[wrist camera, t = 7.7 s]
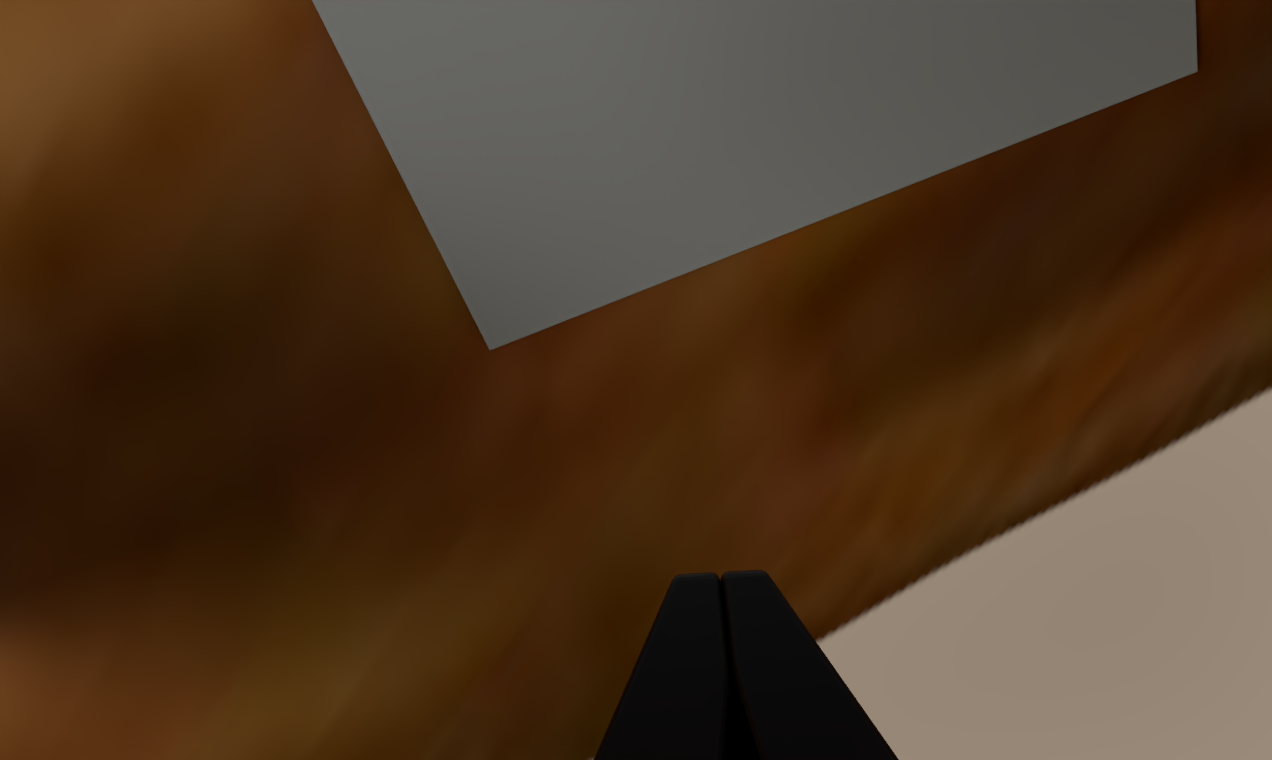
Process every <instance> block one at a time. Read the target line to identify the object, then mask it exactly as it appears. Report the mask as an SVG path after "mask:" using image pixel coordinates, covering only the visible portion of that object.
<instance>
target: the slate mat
mask: <svg viewBox="0 0 1272 760" xmlns="http://www.w3.org/2000/svg"><path fill="white" fill-rule="evenodd" d="M312 1H313V3H314V5H315V7H316V9H317V11H318V13H319V15H320V17H321V19H322V21H323V23H324V25H325V27H326V29H327V31H328V33H329V35H330V37H331V39H332V41H333V43H334V45H335V46H336V48H337V50H338V52H339V54H340V56H341V58H342V60H343V62H344V64H345V66H346V68H347V70H348V72H349V74H350V76H351V78H352V80H353V82H354V84H355V86H356V88H357V90H358V92H359V94H360V96H361V98H362V100H363V102H364V104H365V106H366V108H367V110H368V112H369V113H370V115H371V117H372V119H373V121H374V123H375V125H376V127H377V129H378V131H379V133H380V135H381V137H382V139H383V141H384V143H385V145H386V147H387V149H388V151H389V153H390V155H391V157H392V159H393V161H394V163H395V165H396V167H397V169H398V171H399V173H400V175H401V177H402V179H403V180H404V182H405V184H406V186H407V188H408V190H409V192H410V194H411V196H412V198H413V200H414V202H415V204H416V206H417V208H418V210H419V212H420V214H421V216H422V218H423V220H424V222H425V224H426V226H427V228H428V230H429V232H430V234H431V236H432V238H433V240H434V242H435V244H436V246H437V247H438V249H439V251H440V253H441V255H442V257H443V259H444V261H445V263H446V265H447V267H448V269H449V271H450V273H451V275H452V277H453V279H454V281H455V283H456V285H457V287H458V289H459V291H460V293H461V295H462V297H463V299H464V301H465V303H466V305H467V307H468V309H469V311H470V313H471V314H472V316H473V318H474V320H475V322H476V324H477V326H478V328H479V330H480V332H481V334H482V336H483V338H484V340H485V342H486V344H487V346H488V348H489V350H492V349H495V348H497V347H500V346H502V345H505V344H507V343H510V342H513V341H515V340H518V339H520V338H523V337H525V336H528V335H530V334H533V333H535V332H538V331H540V330H543V329H546V328H548V327H551V326H553V325H556V324H558V323H561V322H563V321H566V320H568V319H571V318H573V317H576V316H579V315H581V314H584V313H586V312H589V311H591V310H594V309H596V308H599V307H601V306H604V305H606V304H609V303H612V302H614V301H617V300H619V299H622V298H624V297H627V296H629V295H632V294H634V293H637V292H639V291H642V290H644V289H647V288H650V287H652V286H655V285H657V284H660V283H662V282H665V281H667V280H670V279H672V278H675V277H677V276H680V275H683V274H685V273H688V272H690V271H693V270H695V269H698V268H700V267H703V266H705V265H708V264H710V263H713V262H716V261H718V260H721V259H723V258H726V257H728V256H731V255H733V254H736V253H738V252H741V251H743V250H746V249H749V248H751V247H754V246H756V245H759V244H761V243H764V242H766V241H769V240H771V239H774V238H776V237H779V236H781V235H784V234H787V233H789V232H792V231H794V230H797V229H799V228H802V227H804V226H807V225H809V224H812V223H814V222H817V221H820V220H822V219H825V218H827V217H830V216H832V215H835V214H837V213H840V212H842V211H845V210H847V209H850V208H853V207H855V206H858V205H860V204H863V203H865V202H868V201H870V200H873V199H875V198H878V197H880V196H883V195H886V194H888V193H891V192H893V191H896V190H898V189H901V188H903V187H906V186H908V185H911V184H913V183H916V182H919V181H921V180H924V179H926V178H929V177H931V176H934V175H936V174H939V173H941V172H944V171H946V170H949V169H951V168H954V167H957V166H959V165H962V164H964V163H967V162H969V161H972V160H974V159H977V158H979V157H982V156H984V155H987V154H990V153H992V152H995V151H997V150H1000V149H1002V148H1005V147H1007V146H1010V145H1012V144H1015V143H1017V142H1020V141H1023V140H1025V139H1028V138H1030V137H1033V136H1035V135H1038V134H1040V133H1043V132H1045V131H1048V130H1050V129H1053V128H1056V127H1058V126H1061V125H1063V124H1066V123H1068V122H1071V121H1073V120H1076V119H1078V118H1081V117H1083V116H1086V115H1088V114H1091V113H1094V112H1096V111H1099V110H1101V109H1104V108H1106V107H1109V106H1111V105H1114V104H1116V103H1119V102H1121V101H1124V100H1127V99H1129V98H1132V97H1134V96H1137V95H1139V94H1142V93H1144V92H1147V91H1149V90H1152V89H1154V88H1157V87H1160V86H1162V85H1165V84H1167V83H1170V82H1172V81H1175V80H1177V79H1180V78H1182V77H1185V76H1187V75H1190V74H1193V73H1195V72H1198V71H1197V37H1196V3H1195V0H312Z"/></svg>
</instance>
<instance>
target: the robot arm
mask: <svg viewBox="0 0 1272 760" xmlns="http://www.w3.org/2000/svg"><path fill="white" fill-rule="evenodd" d="M594 760H899V759H898V758H897V757H896V755H895V754H894V752H893V751H892V750H891V748H890V747H889V745H888V744H887V742H886V741H885V740H884V738H883V737H882V735H881V734H880V732H879V731H878V730H877V728H876V727H875V725H874V724H873V723H872V721H871V720H870V718H869V717H868V715H867V714H866V713H865V711H864V710H863V708H862V707H861V705H860V704H859V703H858V701H857V700H856V698H855V697H854V695H853V694H852V693H851V691H850V690H849V688H848V687H847V685H846V684H845V683H844V681H843V680H842V678H841V677H840V676H839V674H838V673H837V671H836V670H835V668H834V667H833V665H832V664H831V663H830V661H829V660H828V658H827V657H826V656H825V654H824V653H823V651H822V650H821V648H820V647H819V646H818V644H817V643H816V641H815V640H814V638H813V637H812V636H811V634H810V633H809V631H808V630H807V628H806V627H805V626H804V624H803V623H802V621H801V620H800V618H799V617H798V616H797V614H796V613H795V611H794V610H793V609H792V607H791V606H790V604H789V603H788V601H787V600H786V599H785V597H784V596H783V594H782V593H781V591H780V590H779V589H778V587H777V586H776V584H775V583H774V581H773V580H772V579H771V577H770V576H769V575H768V574H767V573H766V572H764V571H762V570H747V571H729V572H725V573H724V574H723V575H722V576H721V580H720V579H719V577H718V575H717V574H715V573H711V572H710V573H692V574H679V575H677V576H675V577H674V579H673V580H672V581H671V584H670V586H669V588H668V590H667V593H666V595H665V597H664V599H663V602H662V604H661V606H660V609H659V611H658V613H657V615H656V618H655V620H654V622H653V625H652V627H651V629H650V632H649V634H648V636H647V638H646V641H645V643H644V645H643V648H642V650H641V652H640V654H639V657H638V659H637V661H636V664H635V666H634V668H633V670H632V673H631V675H630V677H629V680H628V682H627V684H626V686H625V689H624V691H623V693H622V696H621V698H620V700H619V702H618V705H617V707H616V709H615V712H614V714H613V716H612V719H611V721H610V723H609V725H608V728H607V730H606V732H605V735H604V737H603V739H602V741H601V744H600V746H599V748H598V751H597V753H596V755H595V757H594Z"/></svg>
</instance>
